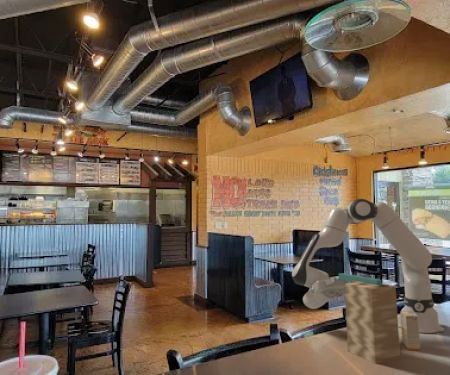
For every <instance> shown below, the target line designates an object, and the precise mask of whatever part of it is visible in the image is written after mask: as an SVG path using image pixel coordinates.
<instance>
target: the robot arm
mask: <svg viewBox="0 0 450 375" xmlns="http://www.w3.org/2000/svg"><path fill="white" fill-rule="evenodd" d="M366 221H370V222H372V223H373V224H374V225H375V226H376V228H377V229H378V230H379V231H380V233H381V234H382V235H383V237H384V238H385V239H386V241H387V242H388V243H389V244H390V245H391V246H392V247H393V248H394V250H395V251H396V252H397V253H398V254H399V255H400V260H401V261H400V263H401V269H402V276H403V281H404V282H403V283H404V285H403V286H404V297H403V298H404V299H403V301H404V307H403V308H402V309H401V311H412V312H413V313H415V314H416V315H417V316H418V323H419V333H422V334H432V333H433V334H435V333H440V332H445V328H444V327H442V326H441V325H440V322H439V315H438V314H439V313H438V311H436V309H435V308H434V298H433V296H432V285H431V279H430V278H431V277H430V275H429V271H428V267H429V266H430V265H431V264H432V262H433V257H432V254H431V252H430V250H429V249H428V248H427V247H426V246H425V244H423V242H422V241H421V240H420V239H419V238H418V237H417V236H416V235H415V233H413V231H412V230H410V228H409V227H408V226H407V224H406V223H405V222H404V221H403V220H402V219H401V217H400V216H399V215H398V213H397V212H396V211H394V209H393V208H391V206H390V205H389V204H387V203H385V202H383V201H378V202H375V203H374V202H372V201H370V200H368V199H366V198H357V199H355V200H353V201H351V202H350V203H349V204H348V205H346V207H345V208H342V207H334V208H333V207H332V209H331V210H330V211H329V213H328V215H327V216H326V219H325V220H324V223H323V226H322V229H321V230H320V231H319V232H318V233H315V234H314V235H312V237H311V238H310V240H309V242H308V243H307V245H306V247H305V249H304V250H303V253H302V254H301V256H300V258H299V260H298V262H297V263H296V264H295V266H293V269H292V271H291V277H292V280H293V281H294V283H295V284H296V285H299V286H304V287H307V288H309V289H308V291H307V292H306V293H304V295H303V297H302V302H303V304H304V305H305V306H306V307H307V308H309V309H312V310H315V309H319V308H320V307H323V306H324V305H325V304H326V303H328V302H330V301H331V300H334V299H336V298H338V297H342V296H345V283H351V282H349V281H344V280H339V278H337V277H335V276H334V277H331V278H330V275H329V273H327V272H326V271H323V270H320V269H318V268H314V267H312V266H310V263H311V261H312V259H313V258H314V255H315V253H316V252H317V251H318V250H319V249H321V248H333V247H338V246H339V245H341V244H342V243H343V242H344V239H345V236H346V233H347V230H348V226H349V225H352V224H353V225H357V224H361V223H364V222H366ZM398 328H401V321H400V322H399V323H398Z"/></svg>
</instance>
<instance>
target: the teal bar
mask: <svg viewBox="0 0 450 375" xmlns="http://www.w3.org/2000/svg"><path fill="white" fill-rule="evenodd" d="M338 279H339V280H344V281H349V282H351V281H358V282H363V283H369V284H374V285H379V286H380V287H381V286H382V284H383V283H382V279H378V278H372V277H367V276H359V275H356V274H355V275H354V274H349V273H344V272H342V273H341V272H340V273H338Z"/></svg>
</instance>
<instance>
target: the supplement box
mask: <svg viewBox="0 0 450 375" xmlns="http://www.w3.org/2000/svg"><path fill="white" fill-rule="evenodd" d="M400 322H401V327H400V328H401V341H402V345H404V346H405V348H406V349H407V350H411V351H421V340H420V339H421V338H420V332H419V323H418V316H417V315H416V314H415V313H413V312H412V311H402V310H401V311H400Z"/></svg>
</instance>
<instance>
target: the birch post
mask: <svg viewBox="0 0 450 375" xmlns="http://www.w3.org/2000/svg"><path fill="white" fill-rule="evenodd" d="M396 288H397V287H396V285H392V284H391V285H390V284H387V283H382V286H381V287H380V286H379V285H374V284H369V283H363V282H358V281H351V283H345V295H344V297H345V298H344V299H345V316H346V317H345V318H346V320H345V321H346V336H347V337H346V338H347V351H348V352H350V353H351V354H353V355H356V356H358V357H361V358H363V359H365V360H367V361H369V362H372V363H373V364H379V363H385V362H388V361H392V360H398V359H401V353H400V352H401V351H400V338H399V337H400V336H399V335H400V334H399V327H398V324H399V323H398V322H399V321H398V304H397V290H396Z"/></svg>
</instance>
